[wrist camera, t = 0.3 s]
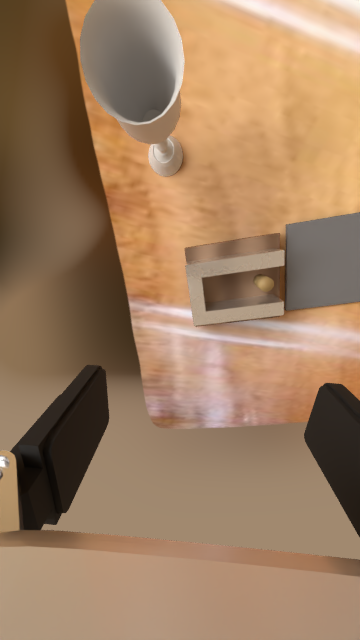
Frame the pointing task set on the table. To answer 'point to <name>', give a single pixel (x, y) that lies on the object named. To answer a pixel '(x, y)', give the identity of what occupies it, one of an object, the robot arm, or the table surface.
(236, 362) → the table surface
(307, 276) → the mat
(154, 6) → the chalice
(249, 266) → the c link
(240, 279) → the stand
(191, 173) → the table surface
